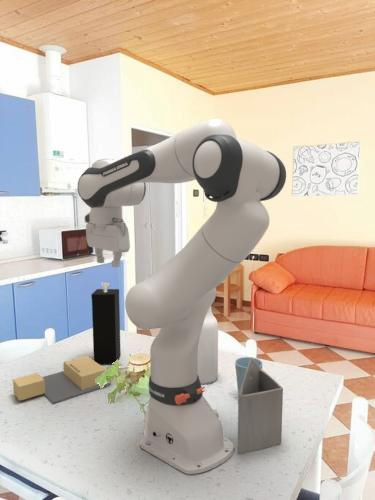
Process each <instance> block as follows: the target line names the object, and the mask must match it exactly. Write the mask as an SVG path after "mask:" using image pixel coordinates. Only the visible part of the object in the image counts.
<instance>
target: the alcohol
mask: <svg viewBox="0 0 375 500" xmlns="http://www.w3.org/2000/svg"><path fill="white" fill-rule="evenodd" d="M218 323H219V322H218V320H217V318H216V316H214V314H213V311H212V305H211V306H210V308H209V310H208V312H207V314H206V317H205V320H204V323H203V327H202V330H201V334H200V338H199V344H198V361H197V375H198V376H199V380H200V383H201V385H207V384H209V385H210V384H212V383H215V382H216V381H217V379H218V377H219V372H218V371H219V324H218Z"/></svg>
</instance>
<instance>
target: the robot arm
mask: <svg viewBox="0 0 375 500" xmlns="http://www.w3.org/2000/svg"><path fill="white" fill-rule="evenodd" d="M286 179H287V170H286V167H285V164H284V163H283V161H282V160H281V159H280V158H279V157H278V156H277V155H275V153H273V152H271V151H268V150H266V149H263V148H262V147H260V146H257V144H255V143H253V142H250V141H248V140H245V139H241V138H238V137H237V135H236V132H235V130H234V128H233V126H232V125H231V124H229V122H228V121H226V120H225V119H221V118H217V117H216V118H210V119H206V120H204V121H201V122H197V123H196V124H193V125H191V126H189V127H188V126H187V128H185V129H183V130H181V131H179V132H177V133H176V134H173V135H172V136H170V137H168V138H166V139H164V140H163V141H160V142H158V143H156V144H154V145H151V146H148V147H146V148H144V149H142V150H139V151H137V152H135V153H132V154H129V155H126V156H124V157H123V158H120V159H118V160H117V159H113V158H103V159H98V160H96V161H94V162H93V163H92V165H91V167H90V166H89V167H87V169H85V171H84V172H83V173H81V175H80V177H79V178H78V181H77V192H78V193H77V194H78V195H79V197H80V199H81V201H82V202H83V203H85V205H86V206H88V207H89V208H90V211H89V212H88V213H86V215H84V223H86V225H85V233H86V234H85V237H86V243H87V246H88V247H90V248H93V250H94V254H95V256H96V262H97V264H104V263H105V256H103V255H104V253H103V251H104V250H105V251H108V252H109V251H110V252H112V256H113V259H112V260H111V267H113V268H120V267H121V266H120V264H121V263H120V261H121V259H122V256H123V253H128V252H129V251H130V248H131V245H130V244H131V242H130V233H129V228H128V226H127V223H126V222H125V220H124V219H123V207H133V206H136V205H140V203H141V202H142V201H143V200H144V198H145V196H146V191H147V190H146V189H147V188H146V183H161V184H182V183H186V182H192V181H195V180H196V181H197V183H198V185H199V186H200V187H201V189H202V190H203V192H204V195H205V197H206V199H207V200H208V201H211V202H214V203H216V207H215V209H214V211H213V213H212V214H211V215H210V217H209V218H208V219H207V220H206V222H204V224H202V226H201V227H200V228H199V229H198V231H196V232H195V234H194V235H193V236H192V237H191V238H190V240H188V242H187V243H186V244H185V246H184V247H183V248H181V250H180V251H179V252H177V253H176V254H175V255H174V256H172V257H171V258H170V259H169V260H167V261H165V263H163V264H162V265H161V266H159V267H158V268H157V269H156V270H155V271H154V272H152V274H150V275H149V276H147V277H145V279H144V280H141V281H139V282H138V283H137V284H134V285H133V286H132V287H130V288H129V290H128V291H127V294H126V296H125V301H124V305H125V312H126V315H127V317H128V319H129V321H130V322H131V323H132V324H133V325H134V326H135V327H137V328H139V329H140V330H141V329H142V330H149V329H160V330H159V332H158V334H157V335H156V336H155V338H153V340H152V342H151V345H150V352H149V353H150V355H149V357H150V375H149V377H148V394H149V396H150V397H149V401H148V403H147V407H146V410H145V417H144V418H145V419H144V429H143V431H144V433H143V434H144V435H143V437H142V438H141V440H140V443H139V445H140V448H141V449H143V450H145V451H146V452H148V453H149V454H151V455H153V456H155V457H156V458H158V459H160V460H162V461H163V462H165V463H167V464H168V465H170V466H172V467H174V468H175V469H177V470H179V471H181V472H182V473H184V474H186V475H197V474H200V473H201V474H202V473H204V472H208V471H209V470H212V469H214V468H217V467H218V466H220V465H221V464H223V463H225V462H226V461H227V460H228V459H229V458H230V457H231V456H233V454H234V451H235V445H234V443H233V442H231V441H230V440H229V439H228V437H226V435H224V429H223V425H222V422H221V420H220V418H219V417H220V415H219V412H218V411H217V409H213V408H212V407H211V405H210V404H209V402H208V401H207V399H206V398H205V396H204V393H205V392H206V390H205V389H206V386H202V384H201V383H200V380H199V376H198V375H197V361H198V344H199V338H200V334H201V330H202V327H203V323H204V320H205V317H206V314H207V312H208V310H209V308H210V306H211V307H212V304H213V303H214V301H215V300H216V296H217V287H218V286H219V285H221V284H222V283H223V282H224V281H225V280H226V279H228V277H229V276H230V275H231V274H232V273H233V271H235V270H236V269H237V268H238V267H239V266H240V265H241V263H242V262H244V260H246V258H248V257H249V255H250V254H251V253H252V251H253V250H254V249H255V248H256V247H257V245H258V244H259V243H260V241H261V240H262V238H263V237H264V235H265V233H266V232H267V230H268V229H269V226H270V216H269V212H268V211H267V208H266V207H265V205H264V204H263V203H262V202H263V201H269V200H272V199H273V198H275V197H277V196H278V195H279V194H280V193H281V191H282V190H283V188H284V187H285V184H286Z"/></svg>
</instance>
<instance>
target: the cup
mask: <svg viewBox="0 0 375 500" xmlns="http://www.w3.org/2000/svg"><path fill="white" fill-rule="evenodd" d="M251 357H252V356H250V357H249V356H244V357H239V358H238V357H237V358H236V360H235V361H234V364H235V365H234V366H235V374H236V386H237V393H238V394H237V395H238V397H239V393H240V389H241V386H242V382H243V379H244V376H245V372H246V369H247V366H248V362H249V359H250V358H251ZM252 358H253V359H254V361H255V362H256V363H257V364H258V365H259V366H260V367H261V369H262V370H263V365H264V364H263V361H262V360H261V359H258V358H257V357H252Z"/></svg>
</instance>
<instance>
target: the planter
mask: <svg viewBox="0 0 375 500" xmlns="http://www.w3.org/2000/svg"><path fill="white" fill-rule="evenodd" d="M250 357H251V358H250V359H249V362H248V366H247V369H246V372H245V376H244V379H243V382H242V386H241V389H240V393H239V396H238V401H237V454H238V455H243V454H247V453H252V452H256V451H259V450H264V449H266V448H272V447H274V446H277V445H281V444H282V432H283V431H282V430H283V429H282V428H283V405H284V404H283V403H284V402H283V401H284V397H283V396H284V388H283V386H282V385H280V383H279V382H278V381H277V380H275V379H274V378H273V377H272V376H271V375H269V373H267V372H266V371H265V370H263V368H262V369H261V367H260V366H259V365H258V364H257V363H256V362H255V361H254V359H253V358H254V357H252V356H250Z"/></svg>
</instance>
